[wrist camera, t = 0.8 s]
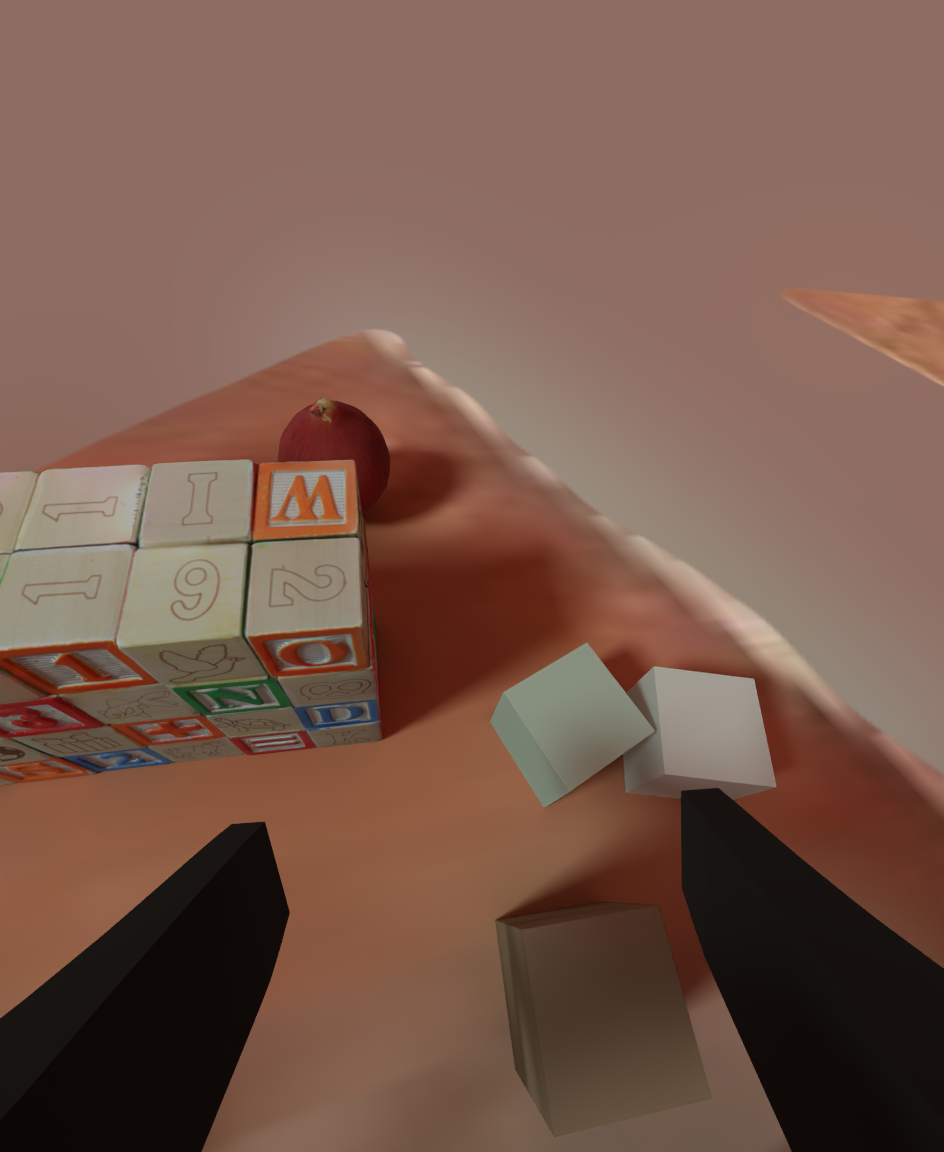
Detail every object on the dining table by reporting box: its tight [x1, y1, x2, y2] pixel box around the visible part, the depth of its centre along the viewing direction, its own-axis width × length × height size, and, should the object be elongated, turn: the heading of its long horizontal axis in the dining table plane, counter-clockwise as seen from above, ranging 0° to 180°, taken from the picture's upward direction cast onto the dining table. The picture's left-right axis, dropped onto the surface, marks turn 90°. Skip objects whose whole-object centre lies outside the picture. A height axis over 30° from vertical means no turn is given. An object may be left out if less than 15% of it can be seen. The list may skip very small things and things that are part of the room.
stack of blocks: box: [0, 459, 383, 785], centre depth 19 cm, size 21×6×12 cm, turn 98°
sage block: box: [490, 643, 655, 808], centre depth 23 cm, size 4×4×4 cm
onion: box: [278, 397, 390, 511], centre depth 27 cm, size 6×6×8 cm
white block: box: [623, 666, 777, 800], centre depth 23 cm, size 4×4×4 cm
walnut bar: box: [495, 902, 711, 1137], centre depth 17 cm, size 4×4×6 cm
